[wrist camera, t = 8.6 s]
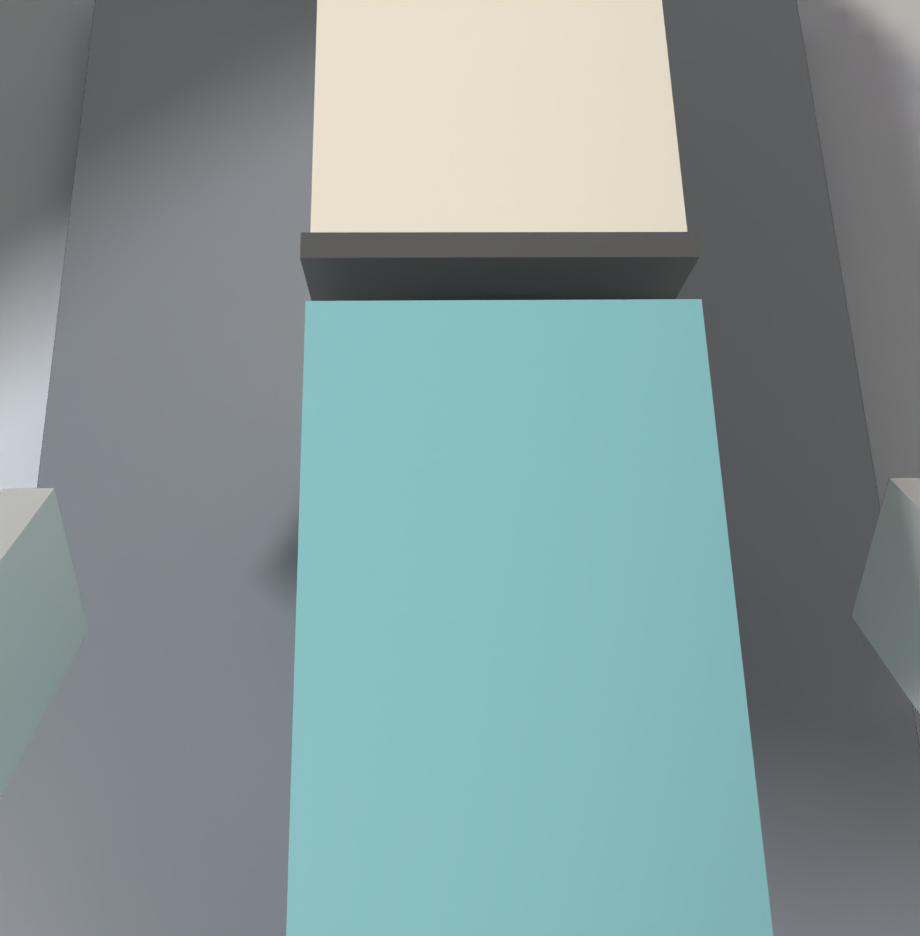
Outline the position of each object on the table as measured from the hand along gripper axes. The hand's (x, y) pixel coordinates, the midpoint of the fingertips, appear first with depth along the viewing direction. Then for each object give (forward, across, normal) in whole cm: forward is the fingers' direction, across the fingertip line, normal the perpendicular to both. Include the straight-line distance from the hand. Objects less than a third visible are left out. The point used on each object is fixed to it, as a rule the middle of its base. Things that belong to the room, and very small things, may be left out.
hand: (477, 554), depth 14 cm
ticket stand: (+5, 0, +2) cm, 6 cm away
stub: (+2, 0, +4) cm, 4 cm away
